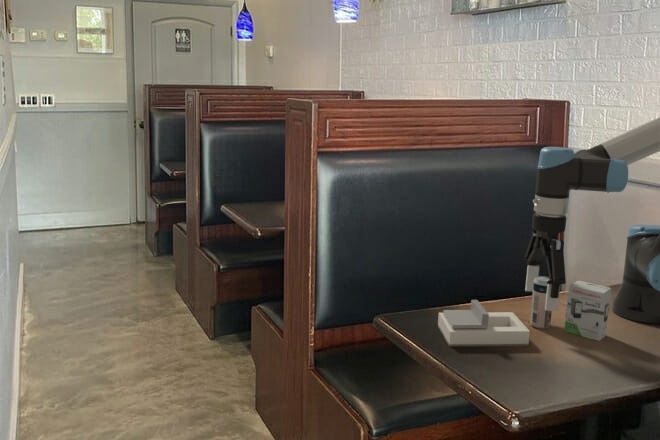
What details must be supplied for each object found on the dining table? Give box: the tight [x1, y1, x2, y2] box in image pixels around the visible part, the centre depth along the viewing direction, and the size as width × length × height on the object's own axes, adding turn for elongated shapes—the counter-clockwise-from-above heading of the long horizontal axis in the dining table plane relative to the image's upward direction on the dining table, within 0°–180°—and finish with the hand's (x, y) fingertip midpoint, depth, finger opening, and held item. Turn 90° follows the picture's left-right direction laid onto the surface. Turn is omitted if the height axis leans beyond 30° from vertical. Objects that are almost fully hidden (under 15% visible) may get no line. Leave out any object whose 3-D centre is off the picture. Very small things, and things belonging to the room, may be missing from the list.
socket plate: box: [437, 311, 531, 347], centre depth 160 cm, size 18×12×4 cm, turn 93°
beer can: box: [529, 275, 553, 329], centre depth 165 cm, size 5×5×12 cm
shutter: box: [442, 299, 489, 328], centre depth 158 cm, size 8×10×3 cm
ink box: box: [563, 280, 613, 342], centre depth 161 cm, size 9×5×12 cm, turn 50°
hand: (540, 300), depth 165 cm, fingers open, 13 cm apart
